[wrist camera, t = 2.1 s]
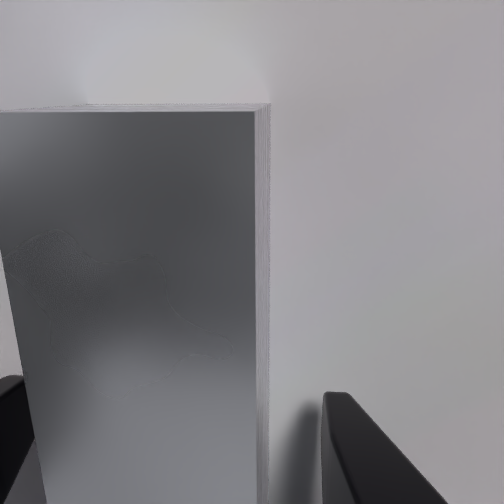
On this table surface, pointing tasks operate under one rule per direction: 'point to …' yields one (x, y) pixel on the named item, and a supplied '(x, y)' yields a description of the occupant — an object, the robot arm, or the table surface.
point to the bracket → (142, 297)
